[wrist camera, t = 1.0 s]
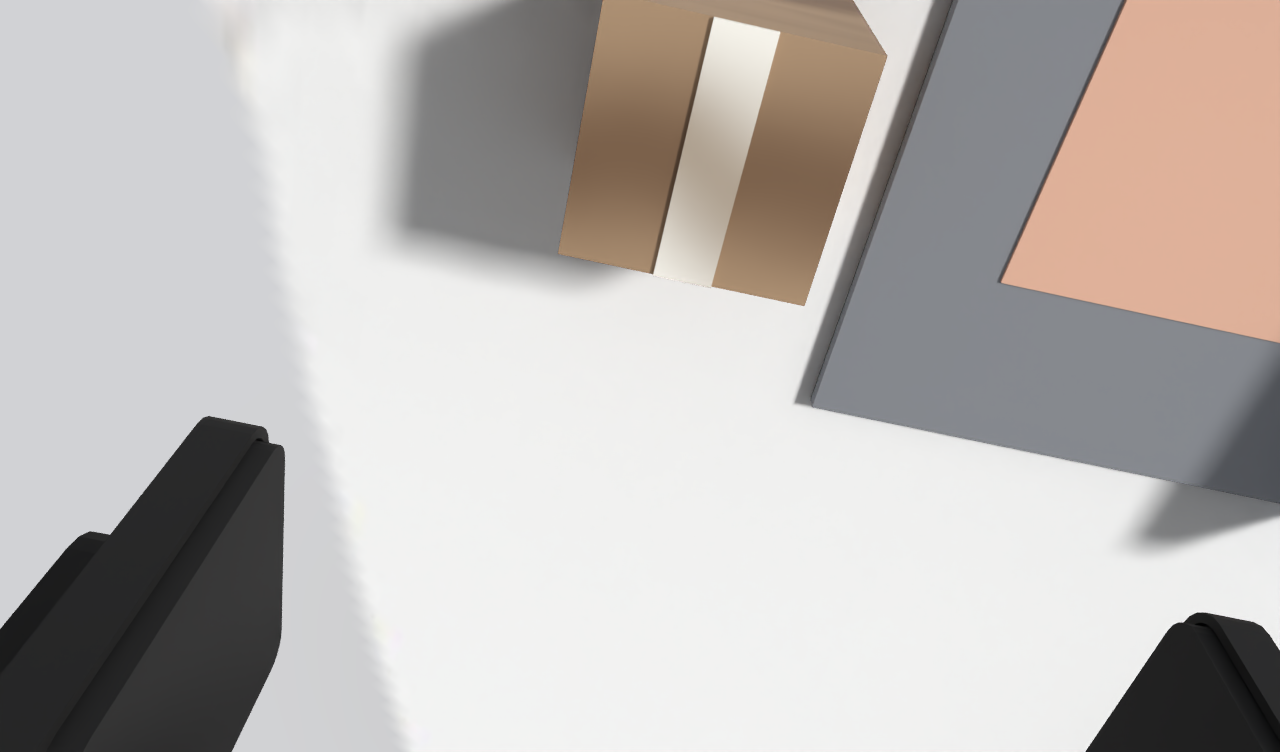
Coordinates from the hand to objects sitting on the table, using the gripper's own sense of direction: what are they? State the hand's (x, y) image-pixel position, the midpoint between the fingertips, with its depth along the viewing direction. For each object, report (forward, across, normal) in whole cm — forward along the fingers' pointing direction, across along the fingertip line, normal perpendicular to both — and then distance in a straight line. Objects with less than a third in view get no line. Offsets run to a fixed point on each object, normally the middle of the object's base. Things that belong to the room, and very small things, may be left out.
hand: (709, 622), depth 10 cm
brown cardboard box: (+20, 0, 0) cm, 20 cm away
